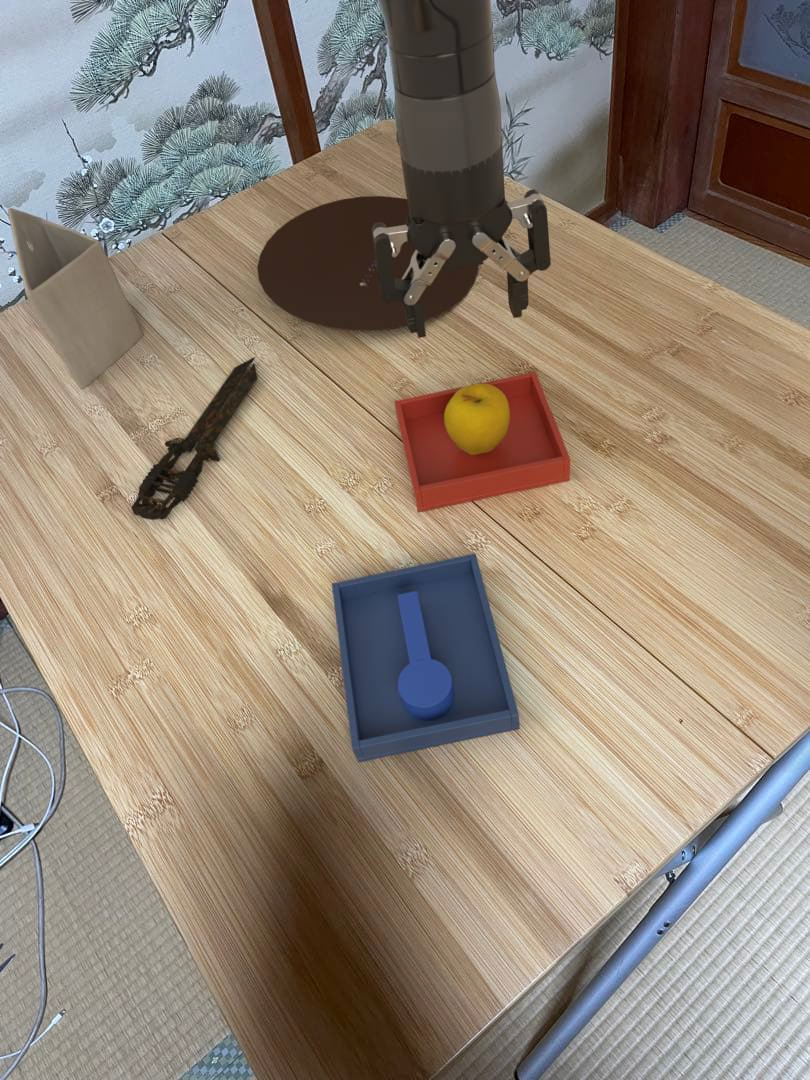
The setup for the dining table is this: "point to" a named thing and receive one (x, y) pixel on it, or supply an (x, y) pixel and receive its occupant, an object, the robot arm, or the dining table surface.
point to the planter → (74, 295)
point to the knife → (187, 445)
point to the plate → (348, 267)
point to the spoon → (422, 667)
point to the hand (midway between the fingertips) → (468, 322)
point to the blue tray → (454, 640)
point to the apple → (477, 418)
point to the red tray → (510, 467)
